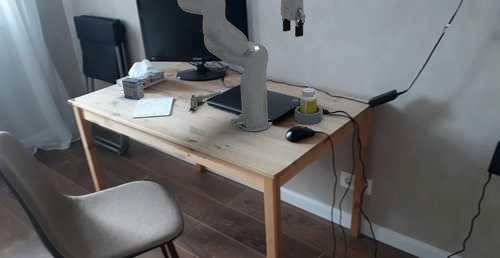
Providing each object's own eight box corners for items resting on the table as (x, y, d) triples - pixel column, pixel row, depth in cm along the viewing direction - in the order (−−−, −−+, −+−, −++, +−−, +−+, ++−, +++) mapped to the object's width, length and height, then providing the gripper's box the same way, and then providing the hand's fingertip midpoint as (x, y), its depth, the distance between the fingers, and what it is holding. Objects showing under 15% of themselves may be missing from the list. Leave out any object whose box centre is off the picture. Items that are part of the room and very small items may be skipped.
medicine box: (124, 98, 192) (121, 80, 188) (130, 94, 195) (127, 77, 192) (139, 100, 189) (135, 82, 185) (144, 96, 193) (141, 78, 189)
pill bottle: (318, 114, 164) (318, 87, 159) (313, 120, 159) (314, 93, 154) (303, 112, 166) (303, 86, 162) (298, 118, 162) (297, 91, 157)
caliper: (192, 110, 177) (191, 96, 174) (191, 109, 177) (189, 95, 174) (222, 93, 191) (221, 80, 188) (220, 93, 192) (219, 80, 189)
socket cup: (304, 126, 157) (304, 117, 155) (290, 116, 165) (290, 107, 164) (327, 120, 161) (327, 111, 159) (312, 110, 169) (312, 102, 167)
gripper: (272, -15, 160) (274, 30, 168) (295, -9, 146) (295, 40, 154) (290, -17, 163) (290, 27, 171) (313, -11, 149) (313, 37, 156)
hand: (292, 33), depth 162 cm, fingers open, 9 cm apart
